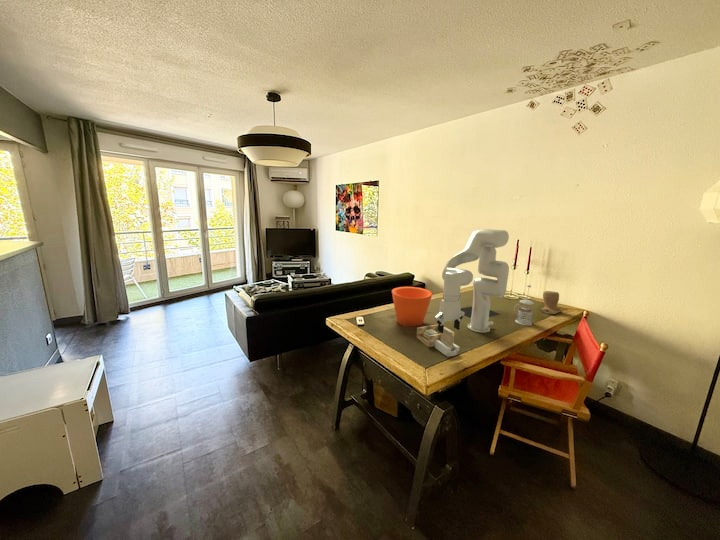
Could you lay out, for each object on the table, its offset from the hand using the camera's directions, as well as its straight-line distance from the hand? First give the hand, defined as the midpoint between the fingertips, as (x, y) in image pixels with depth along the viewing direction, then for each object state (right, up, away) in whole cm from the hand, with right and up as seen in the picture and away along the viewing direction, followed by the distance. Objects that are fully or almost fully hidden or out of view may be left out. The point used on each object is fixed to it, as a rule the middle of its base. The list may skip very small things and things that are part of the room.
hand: (448, 330), depth 132 cm
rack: (-4, -9, +13) cm, 16 cm away
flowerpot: (-12, -4, +39) cm, 41 cm away
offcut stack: (-6, -8, +12) cm, 16 cm away
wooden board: (-1, -11, +2) cm, 12 cm away
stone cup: (+94, -1, +63) cm, 113 cm away
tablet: (+39, -1, +58) cm, 70 cm away
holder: (-1, -11, +2) cm, 12 cm away
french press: (+61, -4, +42) cm, 75 cm away
